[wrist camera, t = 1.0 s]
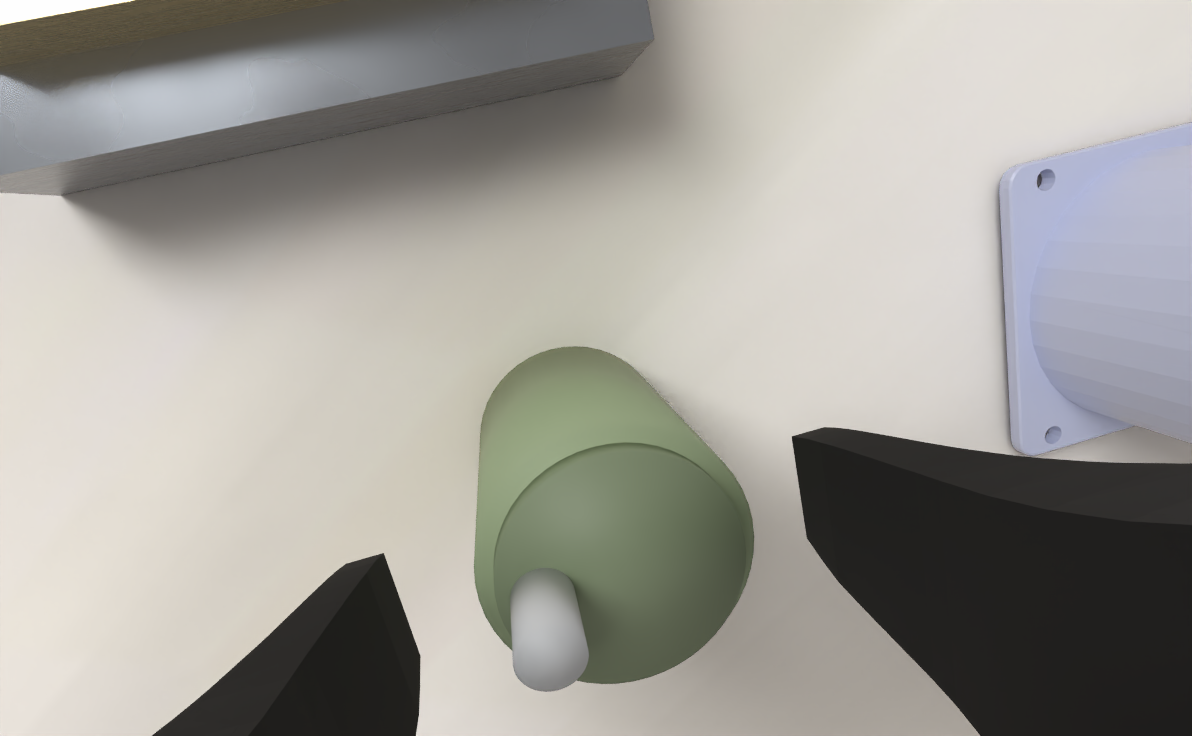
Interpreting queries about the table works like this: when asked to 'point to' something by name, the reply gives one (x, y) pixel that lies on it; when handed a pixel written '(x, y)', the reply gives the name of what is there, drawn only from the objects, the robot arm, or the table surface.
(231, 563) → the table surface
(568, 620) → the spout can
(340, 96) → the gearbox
